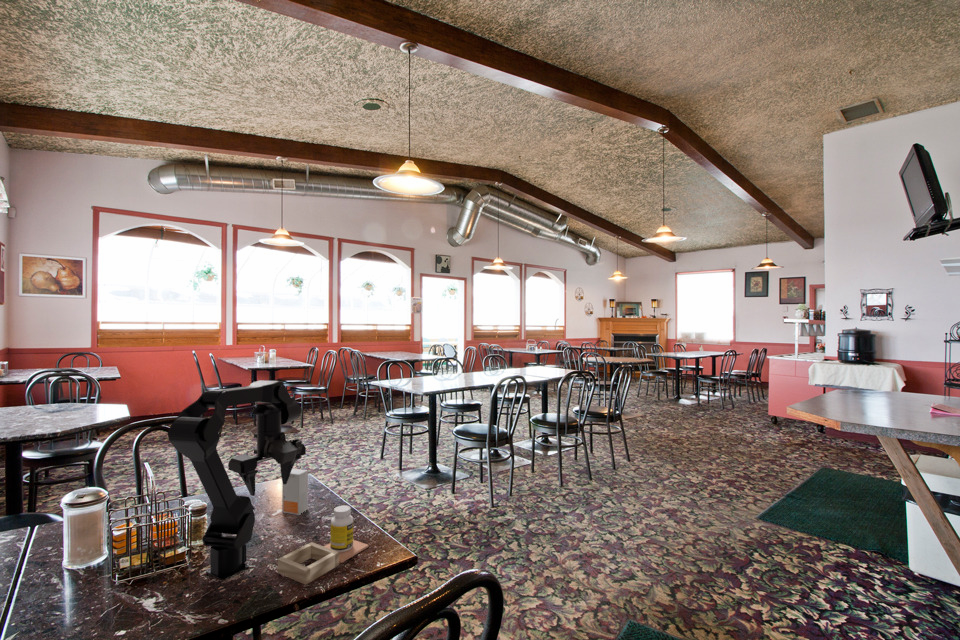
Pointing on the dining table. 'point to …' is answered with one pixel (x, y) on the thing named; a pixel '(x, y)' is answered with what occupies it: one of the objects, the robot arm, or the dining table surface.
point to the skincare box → (295, 492)
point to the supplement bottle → (341, 529)
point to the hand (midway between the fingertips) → (269, 489)
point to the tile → (353, 551)
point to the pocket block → (305, 575)
